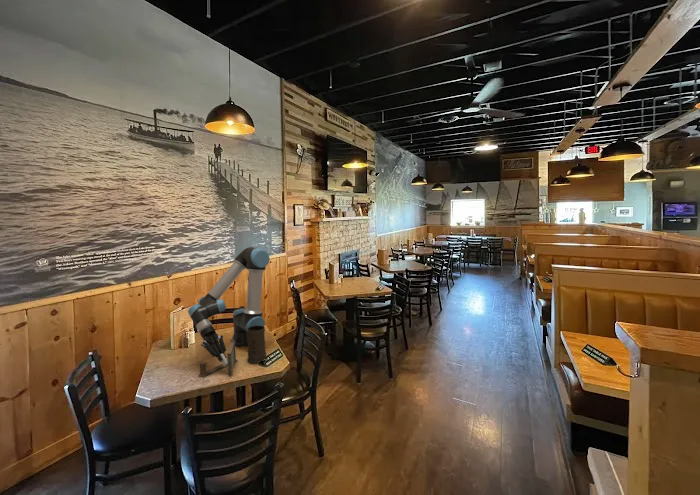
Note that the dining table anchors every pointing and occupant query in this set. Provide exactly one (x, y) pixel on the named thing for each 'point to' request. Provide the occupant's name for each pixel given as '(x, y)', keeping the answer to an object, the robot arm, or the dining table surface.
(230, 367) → the gate
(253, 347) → the beer stein
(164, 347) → the dining table surface
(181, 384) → the dining table surface
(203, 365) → the gate frame
